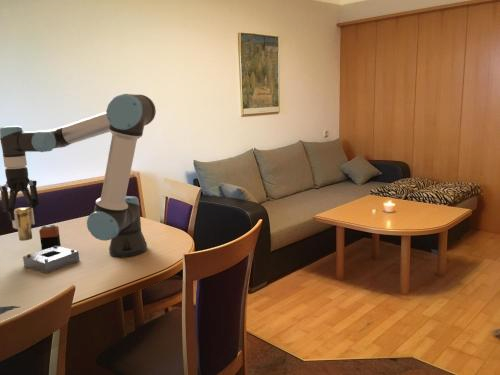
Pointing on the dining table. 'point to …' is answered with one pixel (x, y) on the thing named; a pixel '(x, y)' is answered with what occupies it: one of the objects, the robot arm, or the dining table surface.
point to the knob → (24, 223)
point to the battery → (49, 237)
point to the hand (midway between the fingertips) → (24, 225)
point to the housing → (51, 259)
